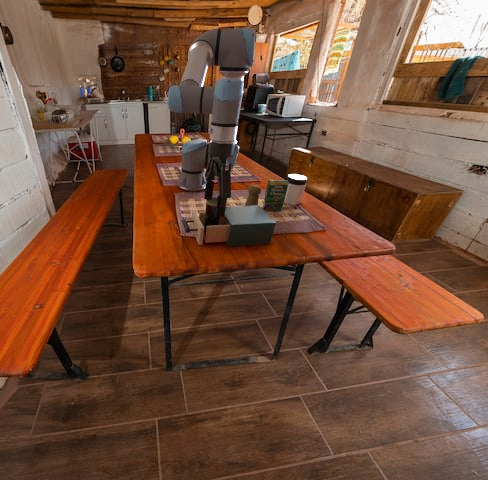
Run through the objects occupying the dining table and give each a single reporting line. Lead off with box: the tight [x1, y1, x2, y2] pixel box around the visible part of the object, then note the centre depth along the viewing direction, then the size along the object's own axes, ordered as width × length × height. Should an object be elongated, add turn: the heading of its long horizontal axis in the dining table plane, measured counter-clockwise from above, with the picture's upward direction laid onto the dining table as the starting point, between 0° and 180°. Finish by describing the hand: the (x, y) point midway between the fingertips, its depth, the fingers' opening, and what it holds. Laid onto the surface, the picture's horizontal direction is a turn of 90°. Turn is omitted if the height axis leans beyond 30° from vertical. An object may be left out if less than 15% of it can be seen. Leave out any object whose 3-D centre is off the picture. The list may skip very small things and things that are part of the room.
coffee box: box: [262, 179, 289, 212], centre depth 111 cm, size 8×3×13 cm, turn 81°
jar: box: [283, 173, 308, 206], centre depth 118 cm, size 9×8×12 cm
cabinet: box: [224, 204, 277, 247], centre depth 92 cm, size 16×14×9 cm
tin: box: [204, 196, 220, 235], centre depth 89 cm, size 5×5×12 cm
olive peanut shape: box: [244, 184, 262, 206], centre depth 110 cm, size 6×6×11 cm
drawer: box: [181, 210, 230, 246], centre depth 91 cm, size 19×12×7 cm, turn 98°
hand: (213, 207), depth 86 cm, fingers open, 13 cm apart
